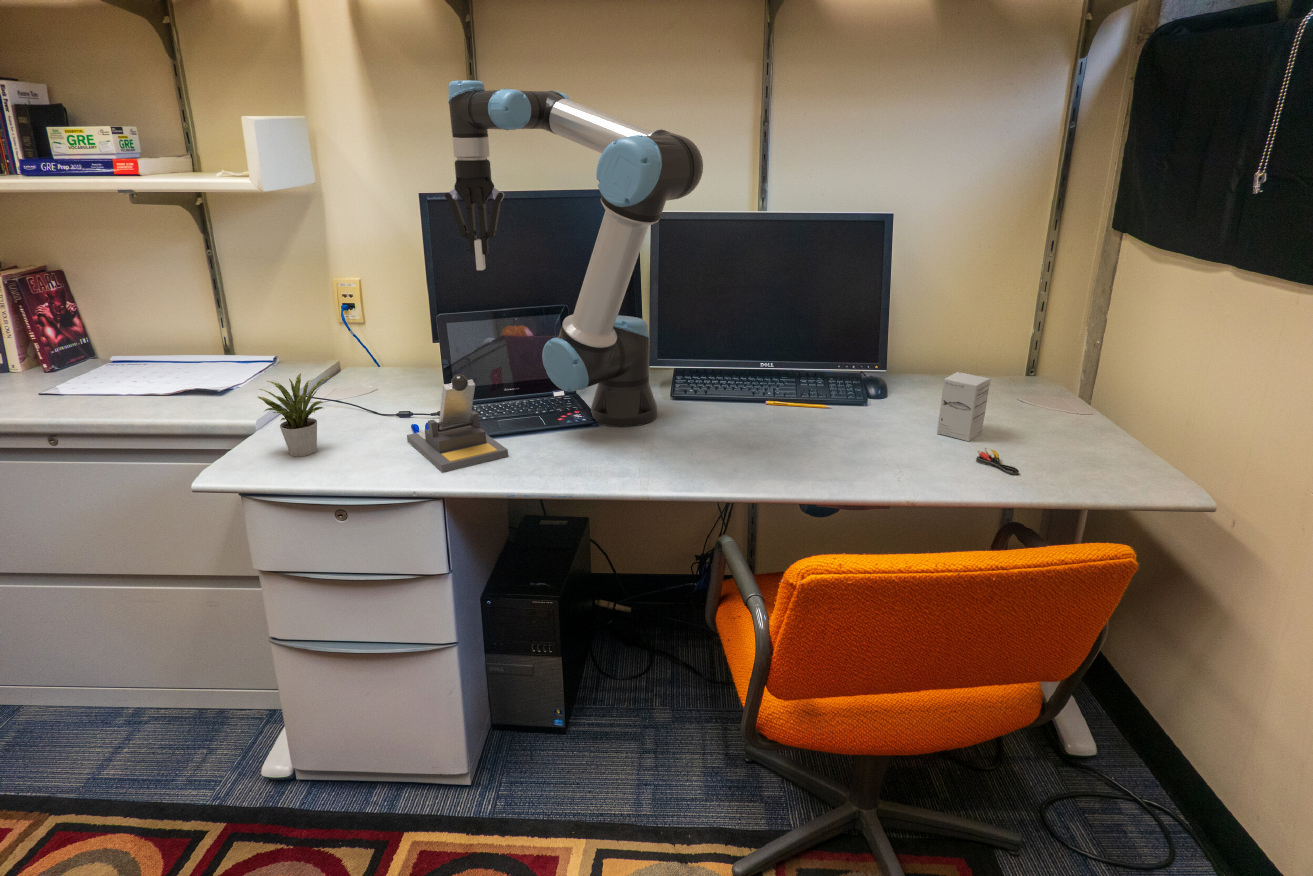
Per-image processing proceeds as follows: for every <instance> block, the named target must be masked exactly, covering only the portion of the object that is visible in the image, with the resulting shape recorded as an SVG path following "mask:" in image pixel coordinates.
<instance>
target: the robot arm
mask: <svg viewBox="0 0 1313 876" xmlns="http://www.w3.org/2000/svg"><path fill="white" fill-rule="evenodd" d="M447 102H448V106H449V113H450V114H449V115H450V127H451V135H452V149H453V157H454V158H456V160H455V161H454V171H455V183H454V186H453V187H454V188H453V189H452V190H450V191H449V192H446V193H445V194H444V197H445V198H446V200H447V201H448V203H449V205H450V207H451V210H452V212H453V213H452V214H453V216H454V220H455V222H456V227H457V229H458V231H459V234H460V235H459V236H460V237H462V238H465V239H468V241H469V249H470V255H472V256H473V255H475V256H474V257H475V266H476V271H484V270H485V269H486V267H487V266H486V256H485V255H488V254H489V253H490V248H489V239H490V238H493V237H494V236H496V234H497V230H498V222H499V216H500V210H501V206H502V205H501V204H502V201H503V200H504V198H505V195H506V193H505V192H504V191H500V190H499V189H498V188H496V187H495V185H494V182H493V180H492V170H491V169H492V168H491V161H490V160H489V159H488V157H490V144H489V134H488V133H489V132H488V130H503V131H510V130H511V131H516V130H543V131H546V132H550V133H552V134H554V135H557V136H559V137H562V138H563V139H566V140H568V141H571V142H573V143H576V144H578V145H580V146H583V147H586V148H588V149H590V150H593V151H595V152H597V153H600V157H599V159H598V163H597V167H596V172H595V173H596V174H595V175H596V180H597V181H598V184H597V187H598V190H599V192H600V194H601V195H600V196H601V197H600V202H601V205H602V206H603V208H604V210H605V211H604V214H603V217H602V221H601V223H600V228H599V230H598V234H597V237H596V240H595V243H594V247H593V249H592V250H593V251H592V252H591V256H590V259H589V263H588V266H587V269H586V272H585V276H584V279H583V281H582V285H581V289H580V292H579V295H578V298H577V301H576V303H575V308H574V311H573V314H570V315H568V316H566V317H565V318H564V319H563V321H562V324H561V327H560V330H559V335H558V336H557V337H553V338H551V339H549V340H547V342H546V343H545V344H544V346H543V349H542V354H541V355H542V357H541V358H542V364H543V367H544V369H545V371H546V375H547V376H548V378H549V380H550V381H551V382H552V383H553V384H554V385H555V386H556V387H557V388H558V389H560V390H562V391H565V392H575V391H582V390H585V389H586V388H589V387H592V386H594V385H597V386H596V390H595V393H594V397H593V400H592V403H591V408H590V409H591V411H590V413H592V416H593V418H594V419H595V420H596V421H595V422H596V423H598V424H601V425H605V426H610V427H620V428H621V427H635V426H641V425H645V424H648V423H650V422H652V421H654V420H655V419H657V417H658V404H657V402H656V399H655V397H654V393H653V391H652V388H651V384H650V334H649V324H648V323H647V321H646V320H644V319H643V318H640V317H635V316H630V315H629V316H628V315H621V314H619V313H620V309H621V307H622V303H623V302H624V301H623V300H624V298H625V295H626V291H627V289H628V288H629V287H628V286H629V284H630V281H631V277H632V275H633V272H634V270H635V266H636V264H637V260H638V258H639V255H640V252H641V249H642V246H643V244H644V243H643V242H644V240H645V237H646V235H647V232H648V229H649V226H651V225H654V224H656V223H658V222H659V221H660V218H661V217H662V213H663V211H664V208H665V205H666V202H667V201H673V200H679V199H683V198H684V197H686V196H688V195H690V194H691V193H692V192H693V191H694V190H695V189H696V188H697V186H698V185H699V183H700V181H701V179H702V175H703V172H704V171H703V170H704V160H703V156H702V154H701V151H700V149H699V147H698V146H697V145H696V144H695V142H694V141H692V140H691V139H689V138H687V137H686V136H684V135H683V136H682V135H680V134H677V133H673V132H671V131H667V130H665V129H663V128H658V129H655V130H650V129H647V128H644V127H642V126H639V125H636V124H633V123H631V122H629V121H625V120H623V119H620V118H619V117H616V116H613V115H610V114H607V113H605V112H602V111H599V110H597V109H595V108H592V107H589V106H586V105H584V104H581V103H578V102H575V101H573V100H572V99H570V97H569V96H568V95H567V94H566V93H565V92H560V91H556V90H518V89H514V88H513V89H512V88H501V89H491V90H486V89H485V84H484V82H483V81H481V80H468V79H467V80H464V79H463V80H451V81H450V82H449V84H448V101H447ZM458 195H459V196H458ZM491 195H492V199H493V203H492V209H491V210H492V211H491V215H490V222H489V229H488V218H487V217H488V216H487V201H488V200H489V198H490V196H491ZM459 197H460V198H461V199H462V200H463V202H465V208H466V220H467V225H466V221H465V219H464V215H463V212H462V209H461V206H460V204H459V201H458V198H459ZM475 204H477V211H478V222H479V235H480V236H479V238H478V235H477V227H476V226H477V225H476V213H475V206H476V205H475Z"/></svg>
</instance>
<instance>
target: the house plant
mask: <svg viewBox="0 0 1313 876" xmlns="http://www.w3.org/2000/svg"><path fill="white" fill-rule="evenodd" d="M301 377H302V373H301V372H300V373H299V374H298V375H297V376H296V378H295V382H294V383H293V381H292V380H291V379H290V378H288V379H289V382H290V387H291V393H292V395H291V393H290V392H289V391H288V389H287V388H286V387H284V386H283V385H282V384H281V383H279V382H275V380H274V379H272V381H270V380H267V382H268V383H270V384H273V386H275V387H276V388H277V389H278V390H279V391H280V392H281V394H282V396H283V397H282V396H280V395H275V394H274V393H272V392H271V391H268V390H265V389H263V388H262V389H261V388H258V390H259V391H263V392H264V393H268V394H269V395H271V396H272V397H274V399H276V400H277V401H279V403H281V405H280V404H279V403H277V402H275V401H273V400H271V399H269V398H266V397H264V396H256V398H258V399H260V400H261V401H263V402H264V404H266V406H268V407H267V408H266V409H264V412H266V411H272V413H273V414H280V415H282V416H283V417H281V419H280V421H279V422H281V424H280V425H279V428H280V431H281V434H282V436H283V439H284V442H285V444H286V447H287V449H288V452H289V454H290V456H293V457H305V456H309V455H312V454H314V453H316V452H317V450H318V420H317V419H316V418H314V417H310V415H312V413H313V414H315V412H316V411H318V410H321V409H326V408H325V407H323V406H318V405H320V404H324V403H325V401H324V402H323V401H319V400H318V401H314V402H313V403H312V404H311V405H310V406H309V404H310V402H311V399H313V397H314V396H315V394H316V393H317V391H318V390H319V388H317V387H319V385H320V384H322V383H323V381H325V380H327V379H330V378H332V377H333V375H332V376H327V377H324V378H321V379H320V380H318V381H317V382H316V383H315V384H314V386H312V388H311V390H310V391H309V392H308V394H307V391H308V389H309V388H308V387H309V382H312V381H313V379H310V380H307V381H306V382H305V384H304V386H303V390H302V394H301V381H302V378H301ZM273 381H274V382H273ZM292 396H293V397H292ZM282 405H283V406H284V407H285V408H284V407H283V406H282ZM308 406H309V407H308ZM282 421H283V422H282Z"/></svg>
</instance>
